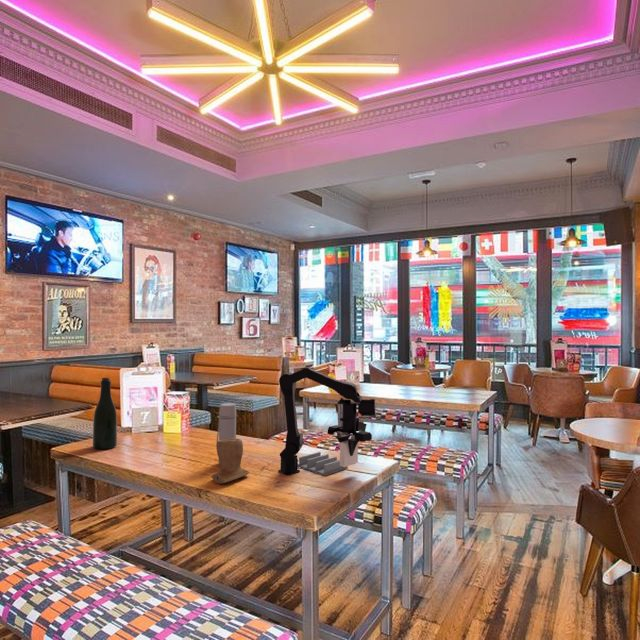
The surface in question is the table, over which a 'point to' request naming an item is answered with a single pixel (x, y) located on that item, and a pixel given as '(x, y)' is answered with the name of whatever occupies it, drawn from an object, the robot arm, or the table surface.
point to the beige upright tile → (347, 455)
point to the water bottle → (227, 422)
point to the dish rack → (320, 463)
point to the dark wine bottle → (105, 419)
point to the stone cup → (229, 461)
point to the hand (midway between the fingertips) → (348, 455)
